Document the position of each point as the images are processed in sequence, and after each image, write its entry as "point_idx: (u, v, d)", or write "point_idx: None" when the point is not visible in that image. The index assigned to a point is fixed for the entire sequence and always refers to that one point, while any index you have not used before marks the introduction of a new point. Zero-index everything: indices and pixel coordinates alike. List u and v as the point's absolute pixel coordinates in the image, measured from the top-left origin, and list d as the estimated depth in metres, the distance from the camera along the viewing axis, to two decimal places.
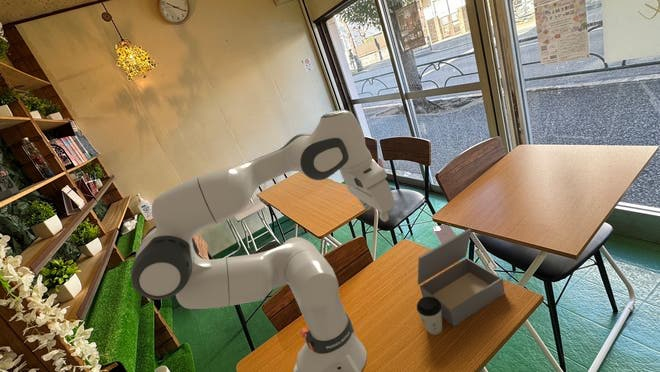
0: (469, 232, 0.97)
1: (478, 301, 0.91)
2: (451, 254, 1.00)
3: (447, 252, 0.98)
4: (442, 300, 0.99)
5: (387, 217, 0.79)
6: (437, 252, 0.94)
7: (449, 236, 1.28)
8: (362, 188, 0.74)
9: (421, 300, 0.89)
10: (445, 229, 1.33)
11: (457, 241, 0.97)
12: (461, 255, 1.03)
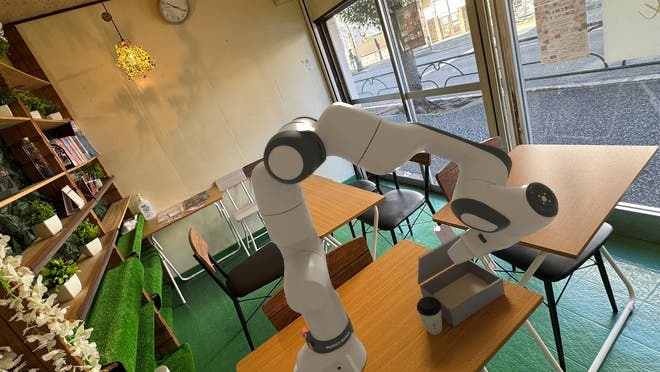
0: None
1: (478, 301, 0.91)
2: None
3: (447, 252, 0.98)
4: (442, 300, 0.99)
5: None
6: (437, 252, 0.94)
7: (449, 236, 1.28)
8: None
9: (421, 300, 0.89)
10: (445, 229, 1.33)
11: None
12: None
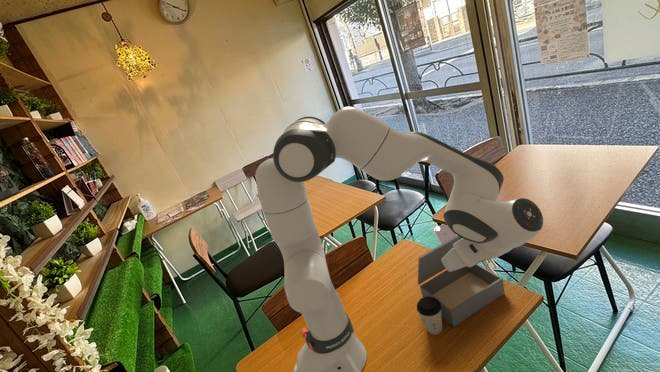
0: None
1: (478, 301, 0.91)
2: None
3: (447, 252, 0.98)
4: (442, 300, 0.99)
5: None
6: (437, 252, 0.94)
7: (449, 236, 1.28)
8: None
9: (421, 300, 0.89)
10: (445, 229, 1.33)
11: None
12: None
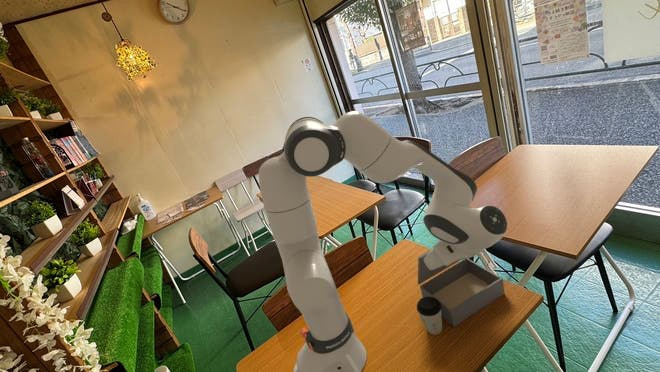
0: None
1: (478, 301, 0.91)
2: None
3: None
4: (442, 300, 0.99)
5: None
6: None
7: None
8: None
9: (421, 300, 0.89)
10: None
11: None
12: None
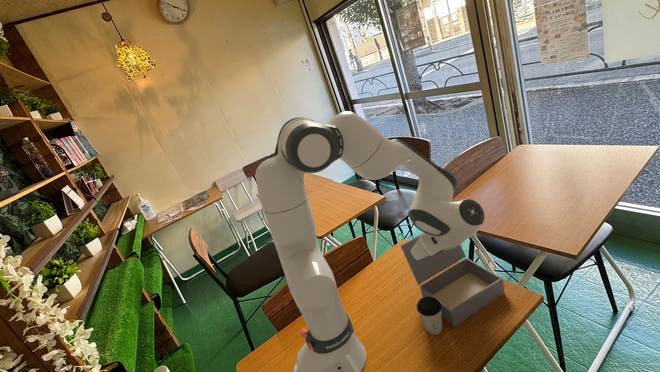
0: None
1: (478, 301, 0.91)
2: None
3: None
4: (442, 300, 0.99)
5: None
6: None
7: None
8: None
9: (421, 300, 0.89)
10: None
11: None
12: (457, 253, 1.05)
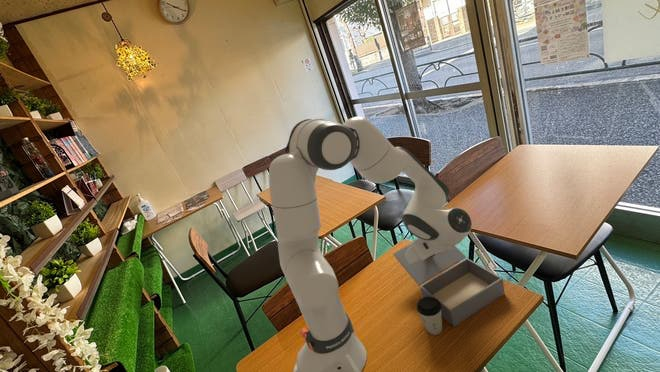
0: None
1: (478, 301, 0.91)
2: None
3: None
4: (442, 300, 0.99)
5: None
6: None
7: None
8: None
9: (421, 300, 0.89)
10: None
11: None
12: (455, 254, 1.07)
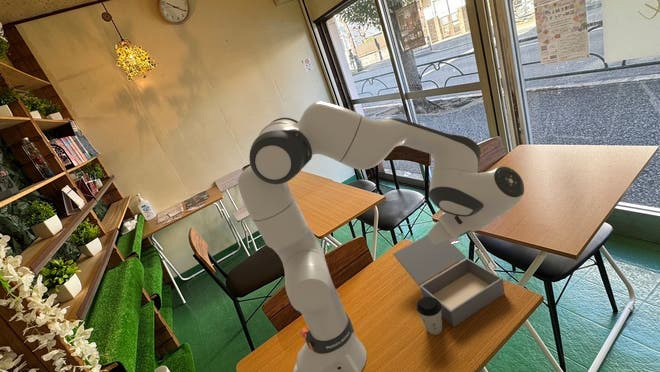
0: None
1: (478, 301, 0.91)
2: (436, 252, 1.08)
3: (427, 249, 1.09)
4: (442, 300, 0.99)
5: None
6: (411, 248, 1.10)
7: None
8: None
9: (421, 300, 0.89)
10: None
11: (429, 239, 1.12)
12: (455, 254, 1.07)
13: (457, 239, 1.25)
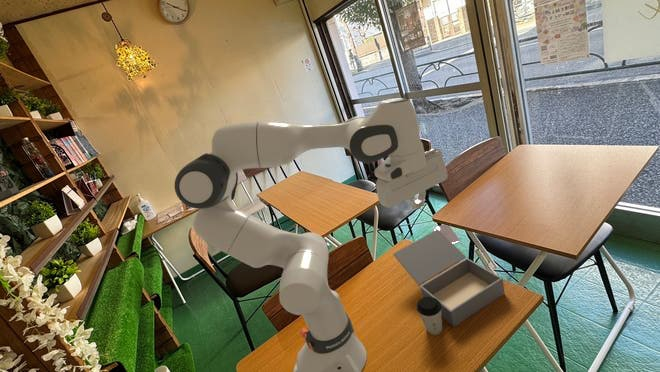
0: (438, 231, 1.14)
1: (478, 301, 0.91)
2: (436, 252, 1.08)
3: (427, 249, 1.09)
4: (442, 300, 0.99)
5: (415, 207, 0.83)
6: (411, 248, 1.10)
7: (449, 236, 1.28)
8: None
9: (421, 300, 0.89)
10: (445, 230, 1.33)
11: (429, 239, 1.12)
12: (455, 254, 1.07)
13: (457, 239, 1.25)
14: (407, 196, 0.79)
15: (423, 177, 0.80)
